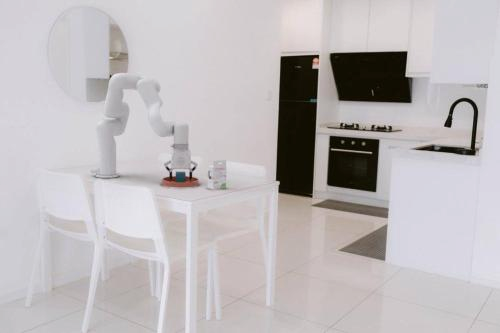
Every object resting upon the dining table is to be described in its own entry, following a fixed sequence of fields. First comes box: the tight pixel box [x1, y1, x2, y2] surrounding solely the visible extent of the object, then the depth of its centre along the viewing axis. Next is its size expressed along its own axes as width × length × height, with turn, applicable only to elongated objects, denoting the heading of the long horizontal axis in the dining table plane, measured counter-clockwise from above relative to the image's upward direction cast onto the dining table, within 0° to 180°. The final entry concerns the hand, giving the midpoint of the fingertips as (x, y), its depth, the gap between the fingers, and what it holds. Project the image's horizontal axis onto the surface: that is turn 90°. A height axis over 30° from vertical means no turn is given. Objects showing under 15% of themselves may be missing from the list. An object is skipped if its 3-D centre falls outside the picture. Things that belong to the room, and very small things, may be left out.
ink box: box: [206, 159, 227, 190], centre depth 238 cm, size 9×5×15 cm, turn 131°
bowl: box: [161, 175, 200, 188], centre depth 246 cm, size 19×19×3 cm
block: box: [175, 171, 187, 182], centre depth 245 cm, size 5×5×6 cm
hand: (180, 179), depth 245 cm, fingers open, 9 cm apart
